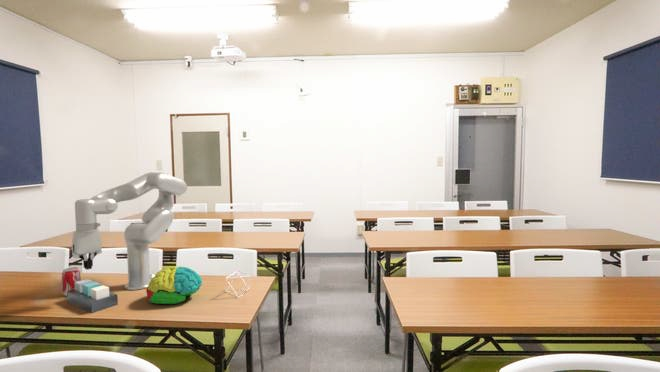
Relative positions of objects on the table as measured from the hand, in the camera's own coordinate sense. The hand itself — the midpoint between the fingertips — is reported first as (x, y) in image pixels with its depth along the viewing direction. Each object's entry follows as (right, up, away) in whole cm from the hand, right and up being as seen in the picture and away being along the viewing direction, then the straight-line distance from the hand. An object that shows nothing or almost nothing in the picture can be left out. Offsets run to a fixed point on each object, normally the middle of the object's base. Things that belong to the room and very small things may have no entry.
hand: (88, 268), depth 152 cm
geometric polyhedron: (+63, -15, +11) cm, 66 cm away
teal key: (+2, -12, 0) cm, 12 cm away
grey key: (-5, -12, +4) cm, 13 cm away
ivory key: (+8, -12, -4) cm, 15 cm away
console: (+2, -15, 0) cm, 15 cm away
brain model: (+36, -15, +4) cm, 40 cm away
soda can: (-15, -15, +11) cm, 24 cm away
